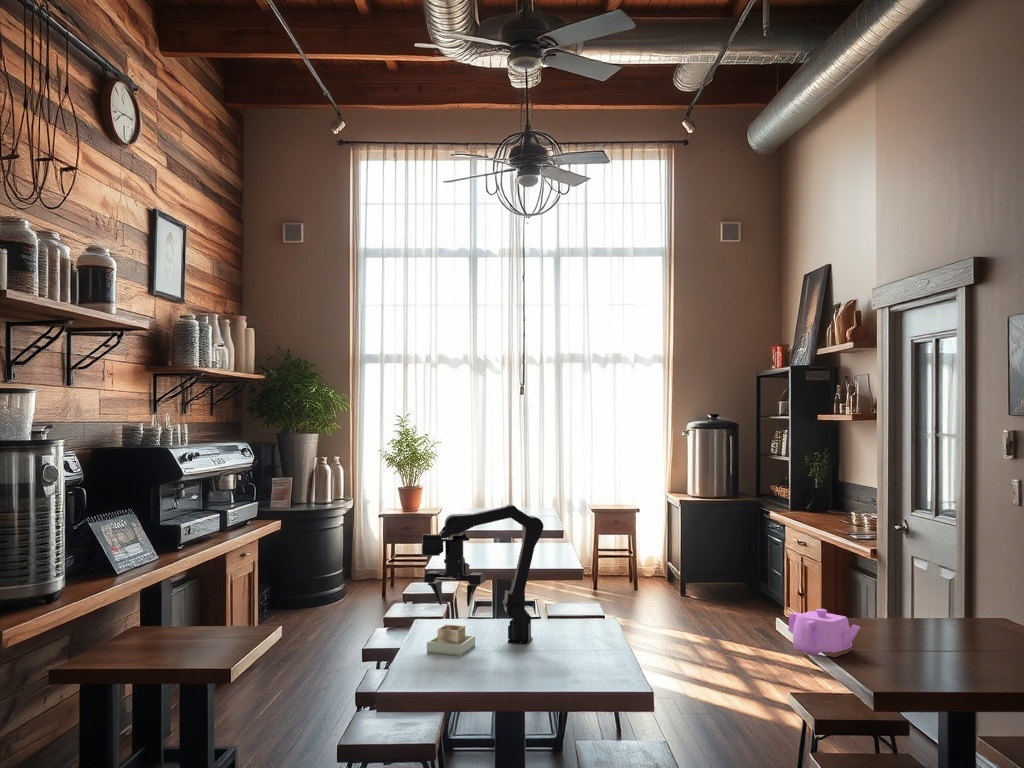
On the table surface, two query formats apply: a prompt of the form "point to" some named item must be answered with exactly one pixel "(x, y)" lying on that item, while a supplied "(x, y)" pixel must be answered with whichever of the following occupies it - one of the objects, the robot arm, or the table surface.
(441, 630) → the small crate
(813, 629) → the teakettle
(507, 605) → the robot arm
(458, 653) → the pale green square tray
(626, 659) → the table surface
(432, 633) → the table surface
